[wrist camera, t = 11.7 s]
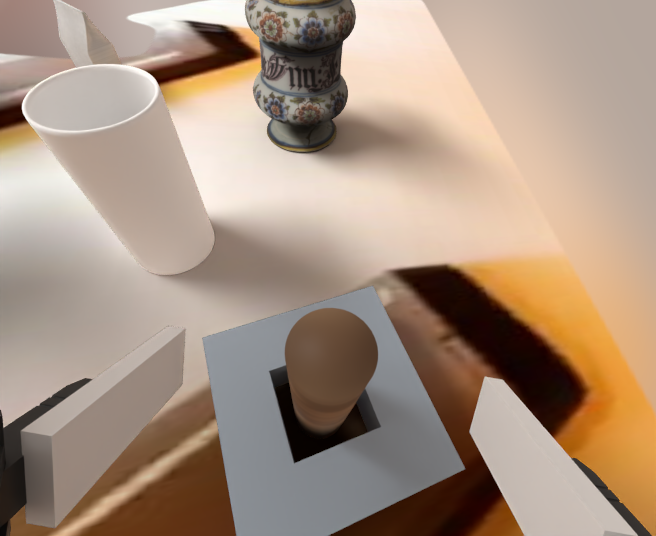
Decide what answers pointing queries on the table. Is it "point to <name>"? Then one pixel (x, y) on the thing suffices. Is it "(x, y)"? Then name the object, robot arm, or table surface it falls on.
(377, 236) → the table surface
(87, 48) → the white gable carton
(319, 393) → the dowel
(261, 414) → the socket
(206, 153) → the table surface
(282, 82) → the apothecary jar
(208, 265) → the table surface
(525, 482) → the robot arm
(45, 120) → the cup
